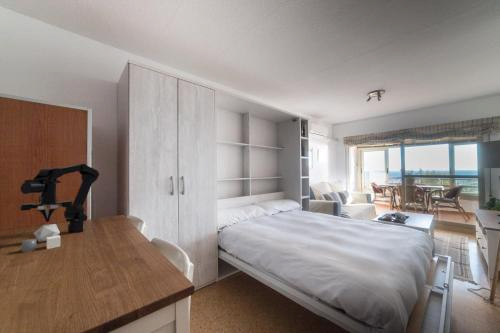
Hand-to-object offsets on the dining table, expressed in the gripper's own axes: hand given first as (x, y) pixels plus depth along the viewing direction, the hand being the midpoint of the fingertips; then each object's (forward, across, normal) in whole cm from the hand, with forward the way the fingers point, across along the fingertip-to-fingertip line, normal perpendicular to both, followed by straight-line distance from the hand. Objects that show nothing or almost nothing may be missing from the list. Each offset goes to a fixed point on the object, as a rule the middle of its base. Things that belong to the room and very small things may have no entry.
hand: (47, 221), depth 105 cm
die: (+10, 0, 0) cm, 10 cm away
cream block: (+10, -4, +14) cm, 17 cm away
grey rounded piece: (+10, +4, +14) cm, 17 cm away
